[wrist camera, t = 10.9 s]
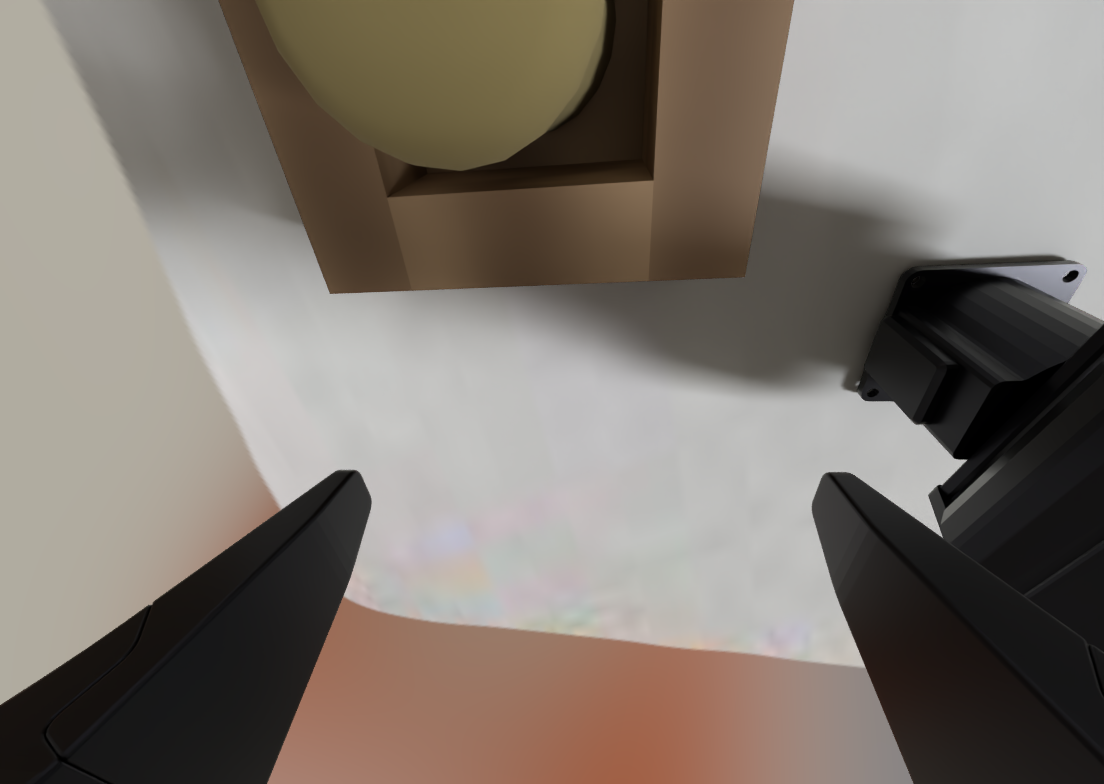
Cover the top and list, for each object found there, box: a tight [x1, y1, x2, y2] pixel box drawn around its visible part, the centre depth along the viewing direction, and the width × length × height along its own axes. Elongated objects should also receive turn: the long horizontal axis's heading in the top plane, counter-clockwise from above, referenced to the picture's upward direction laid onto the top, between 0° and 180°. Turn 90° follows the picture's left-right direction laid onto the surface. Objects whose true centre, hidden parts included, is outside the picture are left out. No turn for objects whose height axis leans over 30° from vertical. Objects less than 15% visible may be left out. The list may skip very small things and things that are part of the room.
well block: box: [219, 0, 794, 294], centre depth 13 cm, size 14×14×5 cm
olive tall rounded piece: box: [255, 0, 616, 171], centre depth 10 cm, size 6×6×11 cm
